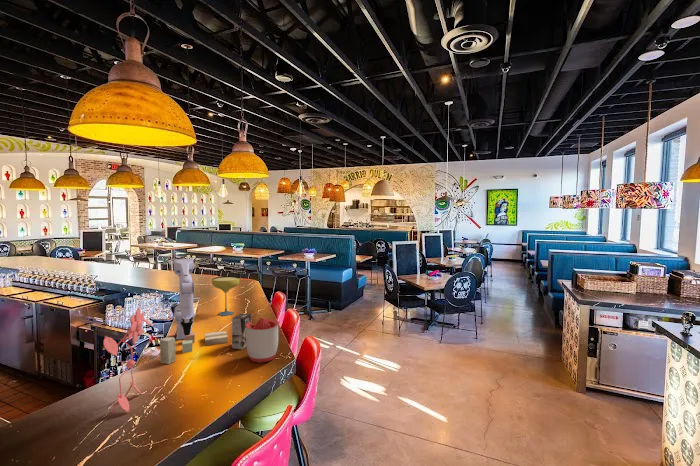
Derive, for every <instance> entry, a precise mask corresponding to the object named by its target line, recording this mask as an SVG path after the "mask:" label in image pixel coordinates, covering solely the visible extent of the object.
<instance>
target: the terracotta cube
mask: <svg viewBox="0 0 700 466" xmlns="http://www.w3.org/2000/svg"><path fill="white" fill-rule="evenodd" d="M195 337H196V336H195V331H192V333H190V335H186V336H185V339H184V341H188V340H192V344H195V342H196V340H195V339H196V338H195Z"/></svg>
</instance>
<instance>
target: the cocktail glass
mask: <svg viewBox="0 0 700 466" xmlns="http://www.w3.org/2000/svg"><path fill="white" fill-rule="evenodd" d="M211 284H212V286H213V287H214V288H216V289H219V290H221V291H222V292H223V293H224V294H225V302H224V303H225V305H224V307H225V309H224V311H221V312H218V313H219V315H222V316H221V317H228V315H230V316H233V315H234V314H235V312H234V311H231V310H229V311H228V308H227V293H228V292H230V290H233V288H235V287H237V286H238V285H239V284H240V277H238V276H234V275H233V276H232V275H231V276H230V275H227V276H225V275H224V276H217V277H213V278H212V279H211ZM232 314H233V315H232ZM219 315H218V316H219Z"/></svg>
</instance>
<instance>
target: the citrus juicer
mask: <svg viewBox="0 0 700 466" xmlns="http://www.w3.org/2000/svg"><path fill="white" fill-rule="evenodd" d="M279 324H280V322H279V321H278V320H276V319H271V318H264V317H261V318H260V319H258V321H257V322H256V324H253V323H252V321H251V322H248V323H247V324H246V351H247V354H248V357H249V359H250V361H252V362H254V363H258V364H260V363H261V364H262V363H266V362H270V361H272V360H274V358H275V357H276V355H277V350H278V347H279Z"/></svg>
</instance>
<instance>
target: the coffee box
mask: <svg viewBox="0 0 700 466" xmlns="http://www.w3.org/2000/svg"><path fill="white" fill-rule="evenodd" d="M248 322H251V323H252V314H251V313H239V314H238V315H235V316H233V317H231V348H232V349H236V350H237V349H238V350H244V349H245V348H247V346H246V324H247V323H248Z"/></svg>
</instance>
